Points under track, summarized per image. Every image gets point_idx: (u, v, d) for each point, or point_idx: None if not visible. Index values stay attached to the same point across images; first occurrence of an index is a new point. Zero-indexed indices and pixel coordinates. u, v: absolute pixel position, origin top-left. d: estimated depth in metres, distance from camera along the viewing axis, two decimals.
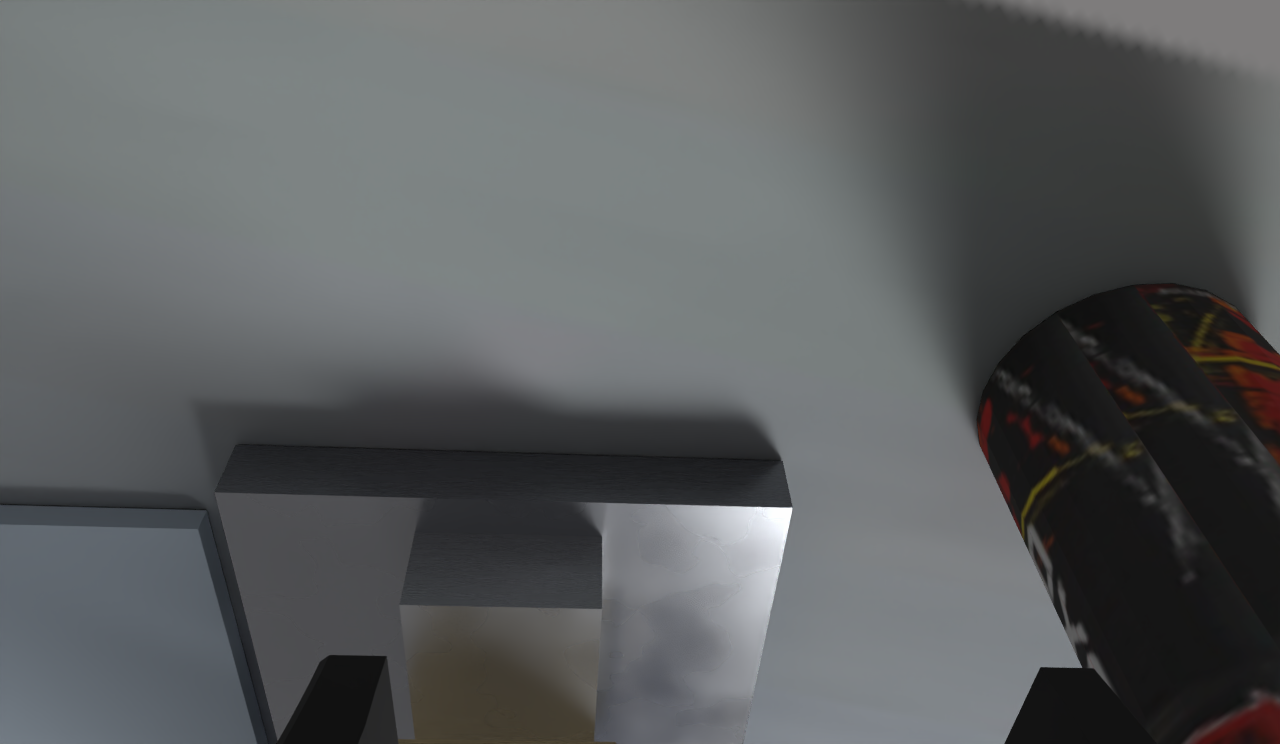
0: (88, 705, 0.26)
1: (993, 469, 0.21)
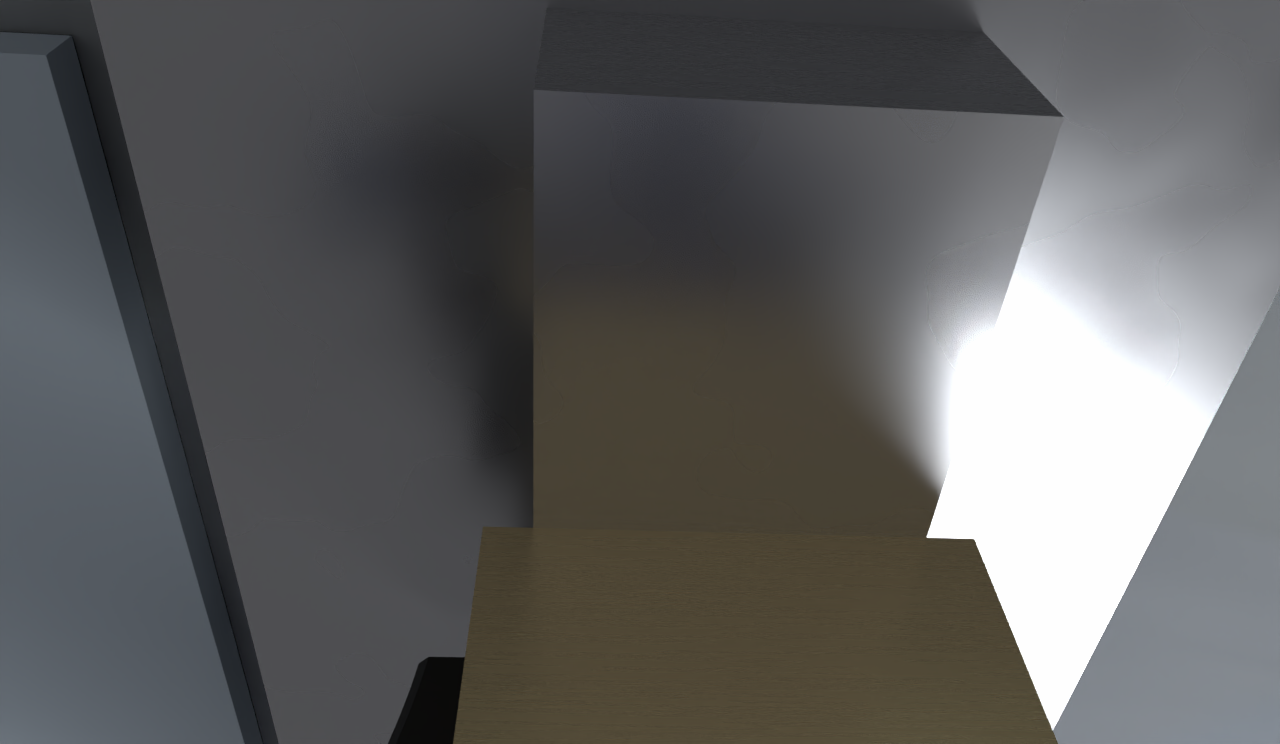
0: None
1: None
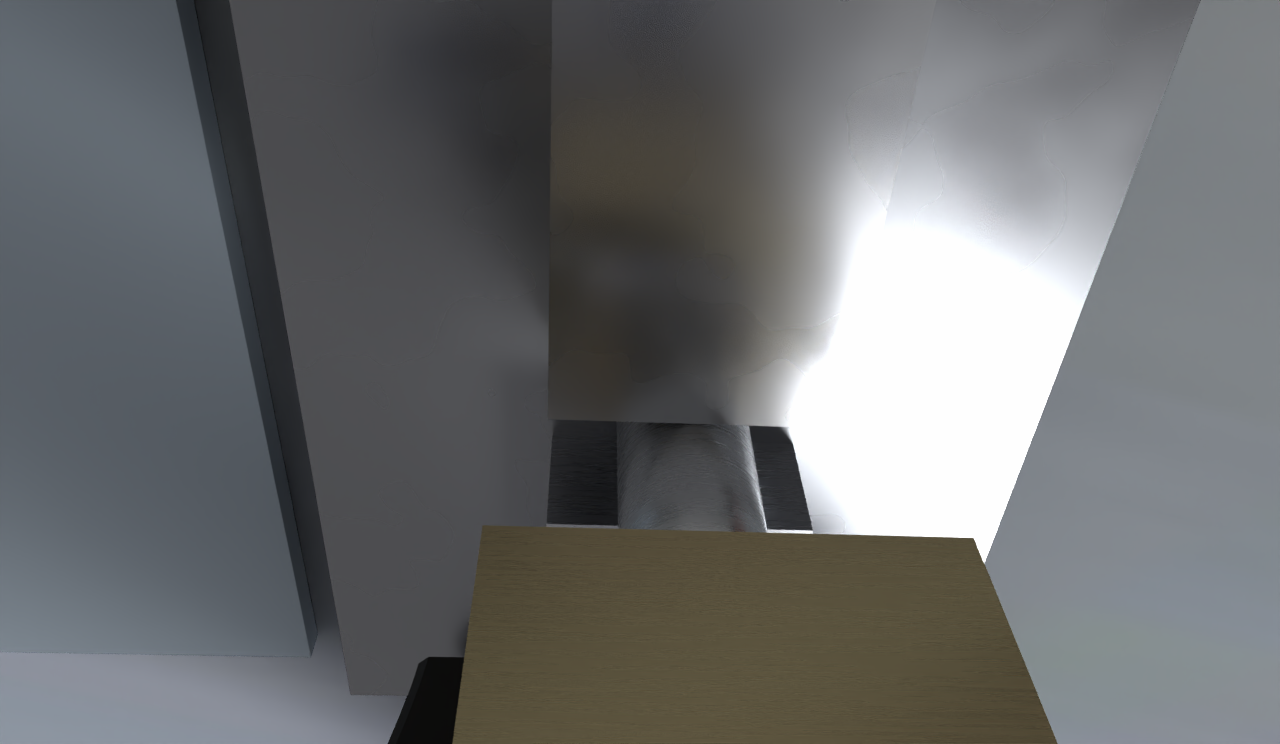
0: (0, 364, 0.16)
1: None
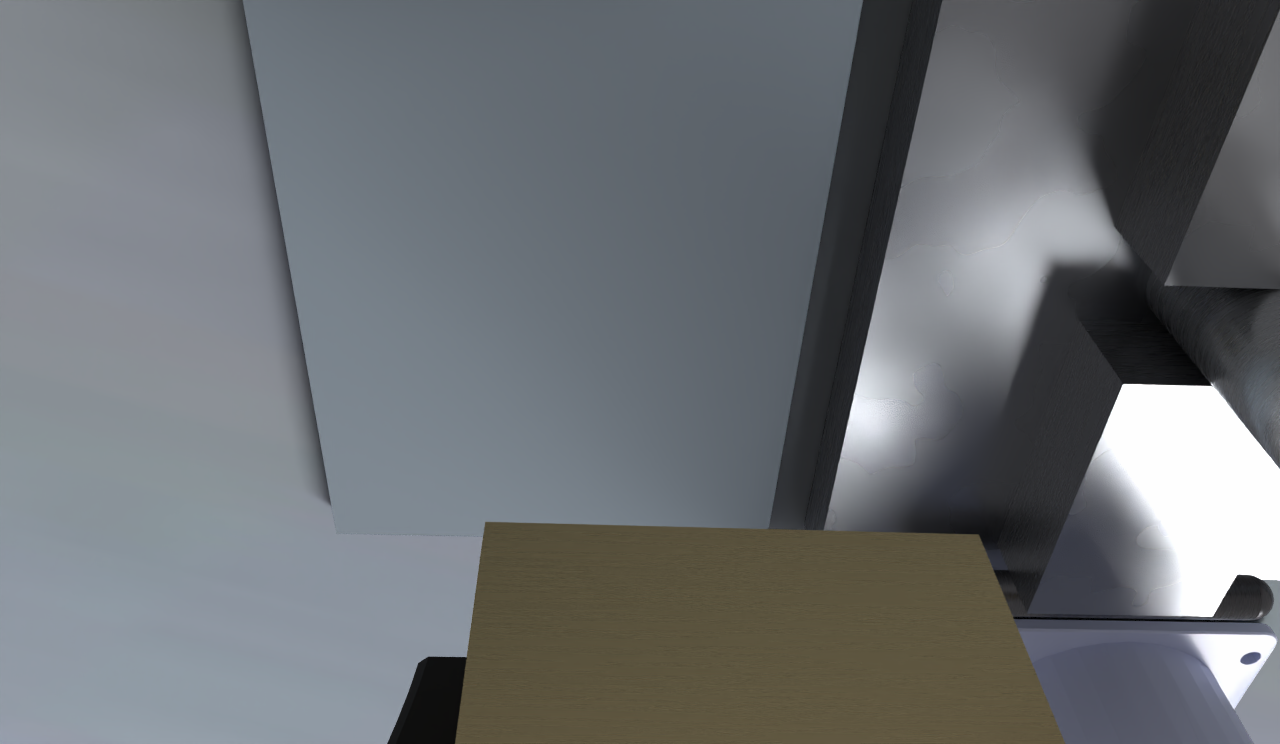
0: (605, 262, 0.19)
1: None
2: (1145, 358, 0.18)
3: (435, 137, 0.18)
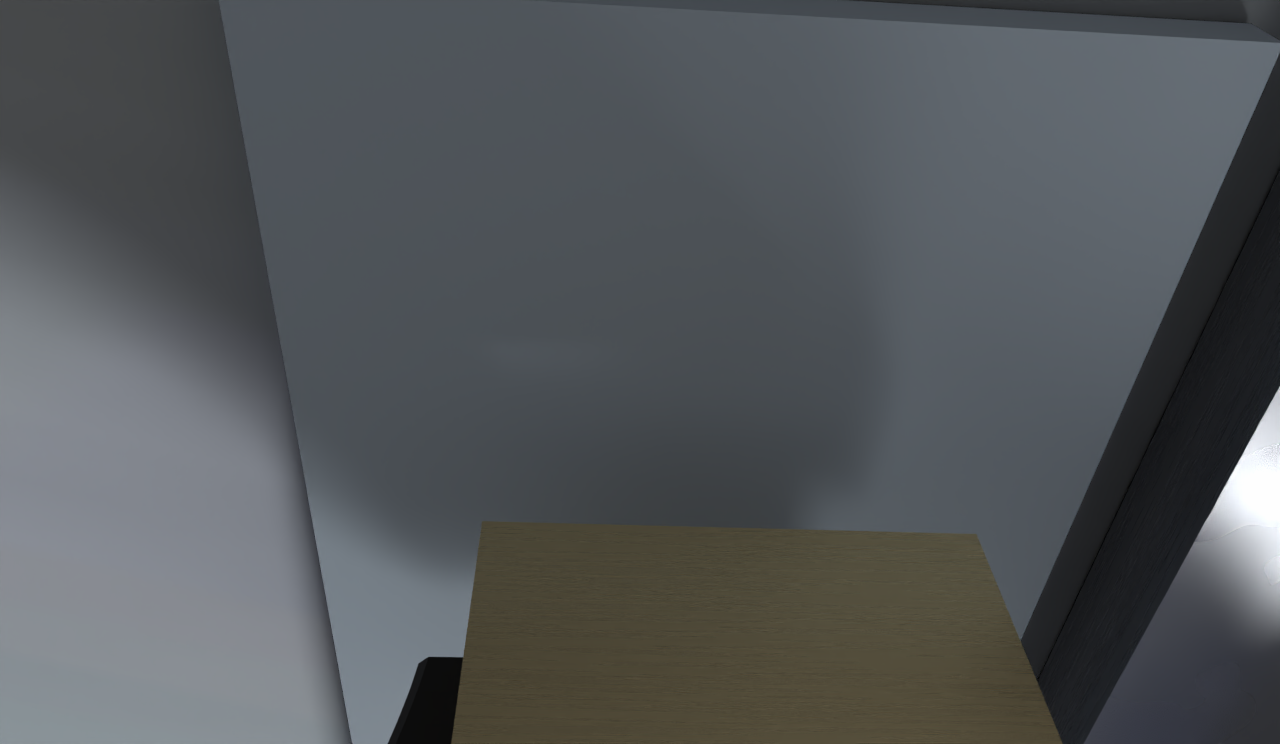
0: (770, 525, 0.13)
1: None
2: None
3: (539, 371, 0.12)
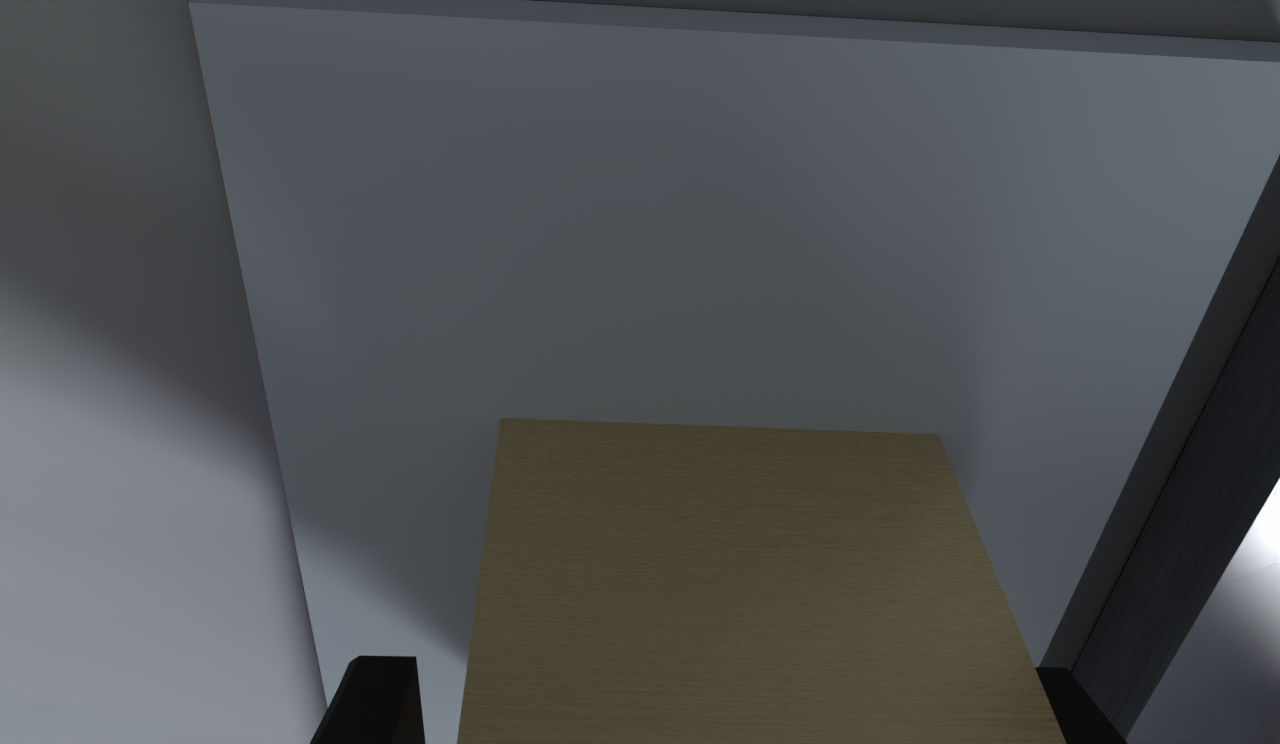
0: None
1: None
2: None
3: (534, 404, 0.11)
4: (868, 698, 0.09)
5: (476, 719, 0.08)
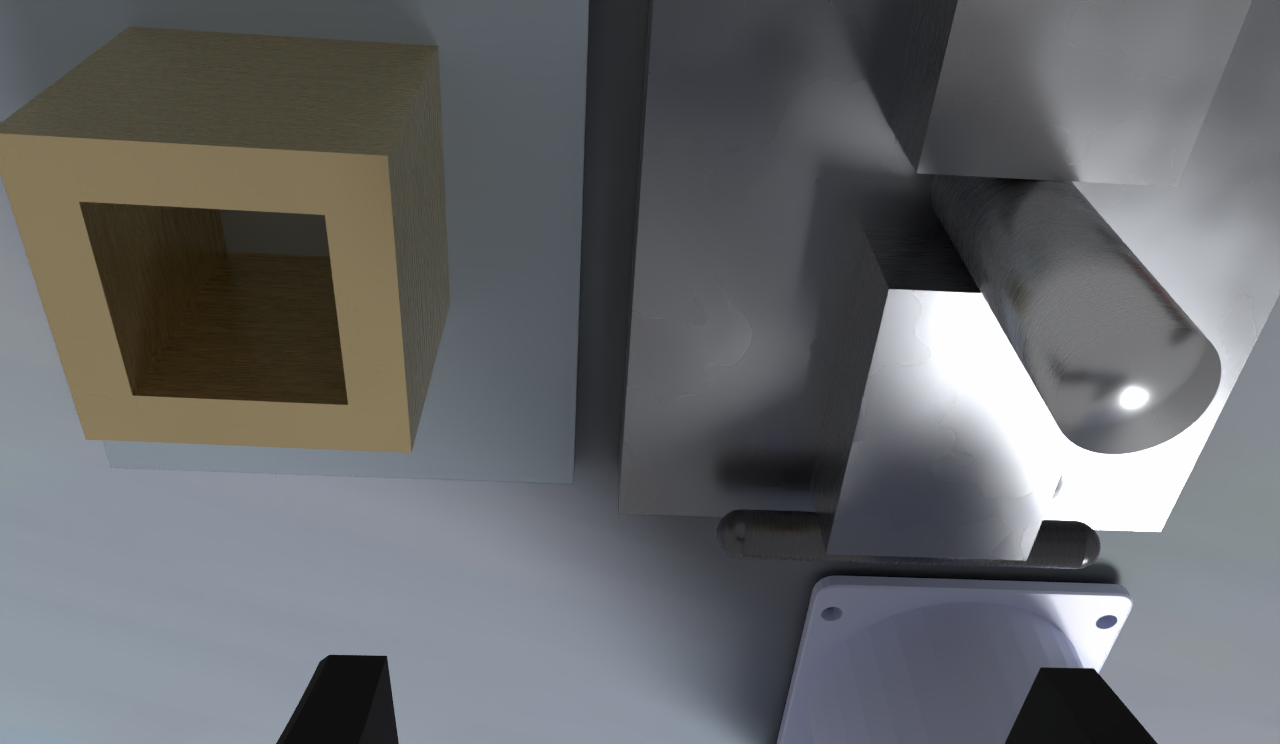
0: None
1: None
2: (923, 266, 0.17)
3: (149, 14, 0.16)
4: (282, 121, 0.14)
5: (23, 115, 0.13)
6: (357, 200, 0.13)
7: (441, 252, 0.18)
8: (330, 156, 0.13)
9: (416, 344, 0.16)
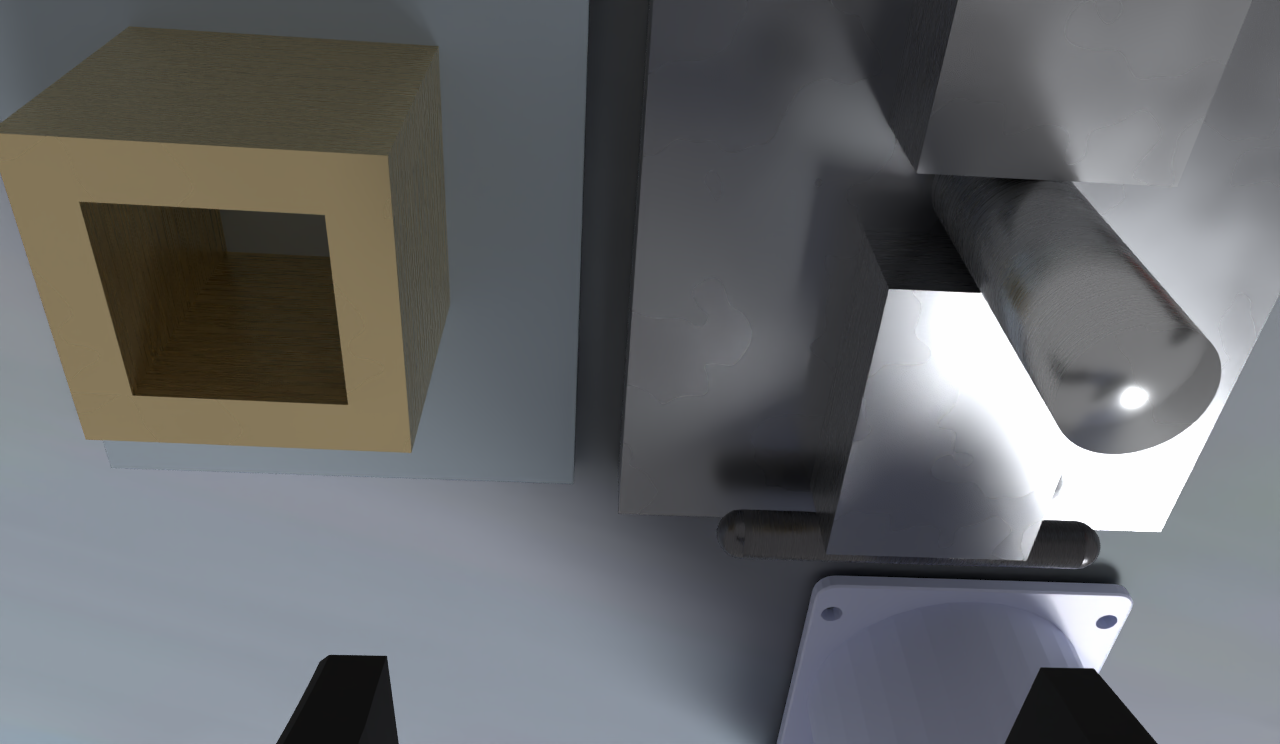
0: None
1: None
2: (923, 266, 0.17)
3: (149, 14, 0.16)
4: (282, 121, 0.14)
5: (23, 115, 0.13)
6: (357, 200, 0.13)
7: (441, 252, 0.18)
8: (330, 156, 0.13)
9: (416, 344, 0.16)
